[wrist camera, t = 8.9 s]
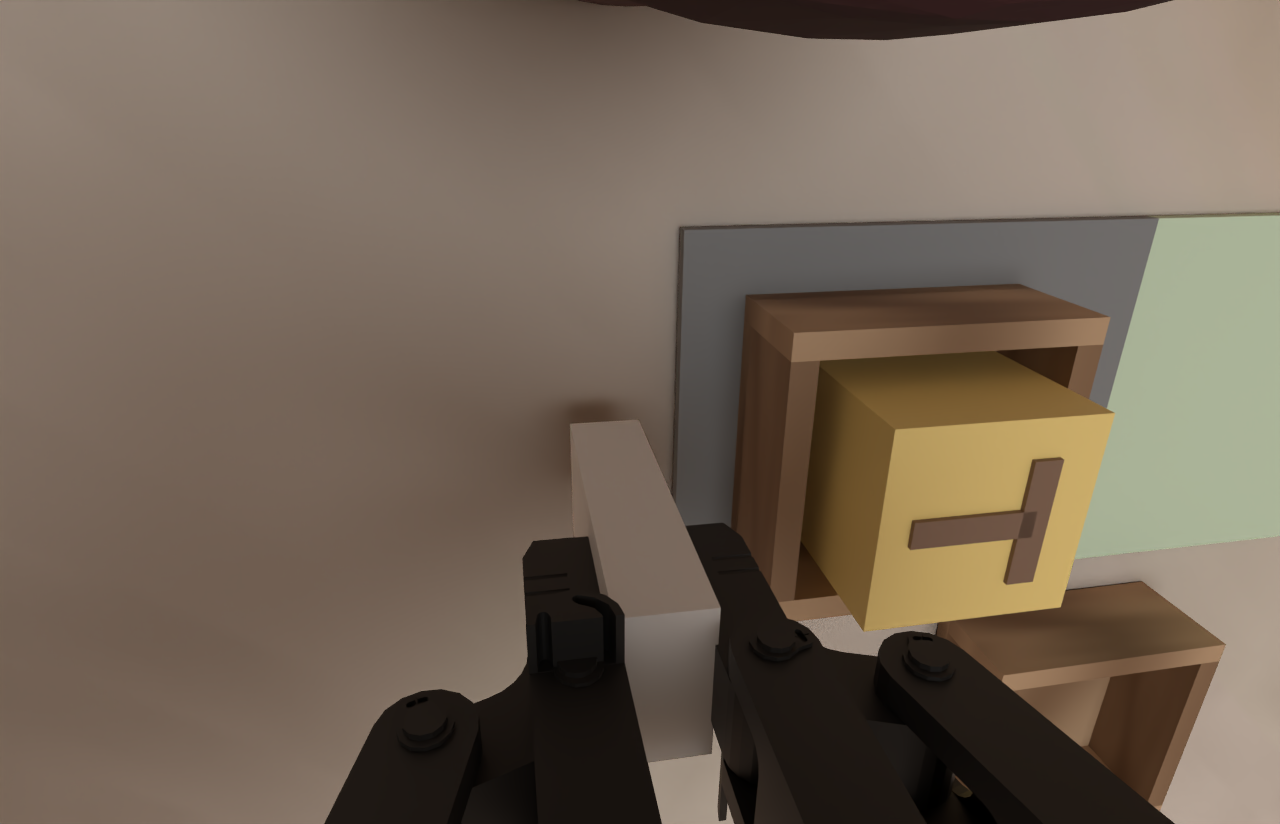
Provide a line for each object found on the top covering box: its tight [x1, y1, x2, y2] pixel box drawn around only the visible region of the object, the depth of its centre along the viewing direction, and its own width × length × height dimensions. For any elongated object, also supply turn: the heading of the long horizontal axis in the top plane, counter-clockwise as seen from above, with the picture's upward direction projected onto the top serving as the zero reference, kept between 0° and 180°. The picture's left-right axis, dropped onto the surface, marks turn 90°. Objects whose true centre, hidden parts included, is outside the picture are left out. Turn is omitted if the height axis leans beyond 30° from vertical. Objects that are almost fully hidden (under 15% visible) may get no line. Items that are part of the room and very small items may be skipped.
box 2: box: [936, 582, 1226, 811], centre depth 23 cm, size 7×7×3 cm
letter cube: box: [801, 351, 1115, 632], centre depth 17 cm, size 4×4×5 cm
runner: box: [673, 213, 1280, 559], centre depth 20 cm, size 20×10×1 cm, turn 90°
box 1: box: [731, 284, 1111, 621], centre depth 18 cm, size 7×7×3 cm
